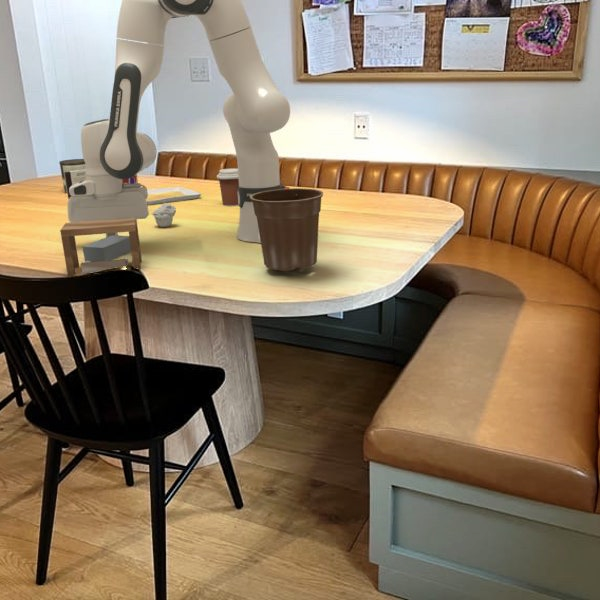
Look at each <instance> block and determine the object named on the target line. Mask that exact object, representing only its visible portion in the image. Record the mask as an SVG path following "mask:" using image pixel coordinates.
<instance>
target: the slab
mask: <svg viewBox="0 0 600 600" xmlns="http://www.w3.org/2000/svg"><path fill="white" fill-rule="evenodd" d="M82 252H83V257H84V262H86V261H90V262H96V261H108V260H116V259H117V258H120V257H121V256H124V255H126V254H129V253H131V245H130V238H129V235H119V234H118V235H112V236H109V237H106V236H105V238H102V239H100V240H96V241H93V242H91V243H88V244H86V245H83V246H82Z"/></svg>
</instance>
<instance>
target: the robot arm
mask: <svg viewBox="0 0 600 600" xmlns="http://www.w3.org/2000/svg"><path fill="white" fill-rule="evenodd" d="M118 14H119V15H118V19H117V27H116V29H117V30H116V45H115V46H116V47H115V67H114V80H113V84H112V87H113V88H112V93H111V95H112V96H111V103H110V112H109V118H105V119H104V118H103V119H98V120H95V121H91V122H90V121H89V122H87V123H85V124H84V125H83V126H82V128H81V133H80V137H81V138H80V141H81V152H82V159H84V161H85V164H86V172H85V174H86V180H84V181H80V182H78V183H76V184H74V185H72V186H71V187H70V188H69V193H70V195H71V197H70V198H69V199H68V201H67V219H68V222H69V223H70V222H84V221H97V220H111V219H124V218H136V219H137V220H143V219H147V218H148V217H149V207H148V206H149V205H147V202H146V201H147V199H148V197H149V194H148V193H147V190H148V188H147V187H146V186H145V185H144V184H143V183H142V184H141V183H140V182H138V183H135V184H123V182H122V179H129V178H131V177H133V176H134V175H136V174H137V175H138V174H139V173H140V172H143V171H144V170H146V169H147V168H149V167H150V166H151V165H153V164H154V162H155V161H156V158H157V146H156V144H155V142H154V140H153V139H152V138H151V137H150V136H149V135H148V134H145V133H143V132H139V131H138V124H139V114H140V105H141V99H142V97H143V95H144V93H145V91H146V89H147V88H148V87H149V86H150V84H151V83H152V82H153V81H154V80H155V79H156V78H157V77H158V76H159V74H160V72H161V69H162V65H163V61H164V52H165V33H166V29H167V28H166V27H167V25H168V23H169V21H170V20H171V19H176V18H186V17H189V16H191V15H193V16H195V17H197V18H198V20H199V21H200V22H201V24H202V26H203V27H204V30H205V34H206V37H207V40H208V43H209V46H210V49H211V51H212V55H213V57H214V60H215V63H216V65H217V69H218V71H219V74H220V75H221V76H222V77H223V78H224V80H225V81H226V83H227V84H228V86H229V88H230V89H231V91H232V92H231V93H230V94H229V95H228V96H227V97H226V98H225V100H224V102H223V105H222V112H223V117H224V119H225V120H226V123H228V127H229V131H230V135H231V139H232V142H233V146H234V150H235V154H236V160H237V161H236V162H237V169H238V177H239V186H238V191H237V193H238V205H239V206H238V207H239V220H238V228H237V233H236V238H237V240H240V241H244V242H249V243H250V242H252V243H257V244H261V240H260V234H259V228H258V222H257V216H256V215H255V213H254V207H253V202H252V200H251V199H250V196H251V195H253V194H255V193H258V192H263V191H269V190H277V189H291V188H290V187H289V186H286V185H284V184H282V183H281V178H280V162H279V161H280V160H279V159H280V157H279V153H278V151H277V150H276V148H275V146H274V144H273V139H272V136H271V133H275V132H277V131H279V130H282V129H283V128H284V127H285V126H286V125H287V124H288V122H289V120H290V118H291V117H290V116H291V106H290V103H289V100H288V98H287V97H286V96H285V95H284V94H283V93H282V92H281V91H280V90H279V88H278V87H277V85H276V83H275V82H274V79H273V78H272V75H270V73H269V70H268V69H267V67H266V65H265V63H264V61H263V58H262V56H261V53H260V51H259V50H260V49H259V46H258V44H257V41H256V38H255V34H254V32H253V29H252V25H251V22H250V19H249V17H248V14H247V12H246V10H245V7H244V5H243V3H242V0H122V1H121V4H120V9H119V13H118ZM133 187H135V188H133ZM123 188H124V190H123ZM112 235H119V232H118V233H105V238H106V237H109V236H112Z"/></svg>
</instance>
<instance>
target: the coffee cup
mask: <svg viewBox="0 0 600 600" xmlns="http://www.w3.org/2000/svg"><path fill="white" fill-rule="evenodd" d="M216 179H218V183H219V188H220V194H221V200H222V201H221V202H222V205H223V206H225V207H239V205H238V193H237V191H238V186H239V177H238V168H224V169H223V168H222V169H220V170H219V173H218V174H217V175H216Z"/></svg>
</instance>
